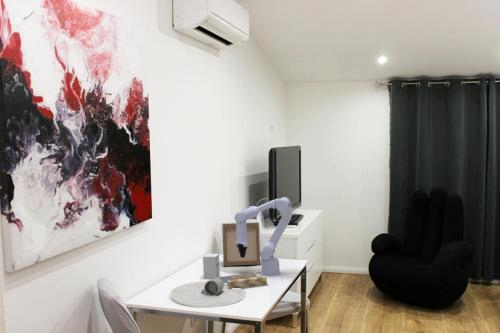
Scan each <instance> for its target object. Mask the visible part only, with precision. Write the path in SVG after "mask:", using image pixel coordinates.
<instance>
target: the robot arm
mask: <svg viewBox="0 0 500 333" xmlns="http://www.w3.org/2000/svg"><path fill="white" fill-rule="evenodd" d="M292 206H293V205H292V203H291V200H290V199H289V197H286V196H283V197H279V198H276V199H273V200H270V201H268V202H266V203H263V204H261V205H259V206H255V205H253V206H252V205H250V206H249V207H248V208H245V209H241V211H238V212H237V213H235V214H234V221H235V223H236V232H237V241H235V243H239V244H238V245H237V247H238V249H239V253H240V257H241V258H243V257H245V254H246V249H247V247H248V243H247V242H248V241H247V225H246V223H247V220H248V221H249V220H250V219H253V218H254V217H257V216H259V214H260V213H261V212H264V211H267V210H269V209H274V210H275V209H276V210H277V211H278V212H279V214H280V217H281V218H280V220H279V222H278V223H277V225H276V228H275V229H274V231H273V232H272V235H271V236H270V238H269V240H268V241H267V243H266V245H265V246H264V247H263V248H262V249H260V265H261V272H259V275H260V276H266V277H273V276H274V277H275V276H280V275H281V272H280V261H279V259H278V257H275V256H274V255H275V253H276V248H277V245H278V243H279V241H280V240H281V237H282V235H283V234H284V232H285V230H286V228H287V227H288V224H290V221H291V219H292V216H293V215H292V214H293V212H292Z"/></svg>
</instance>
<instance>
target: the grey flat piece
mask: <svg viewBox="0 0 500 333" xmlns="http://www.w3.org/2000/svg"><path fill="white" fill-rule="evenodd" d="M252 273H253V272H248V273H240V274H231V275H229V276H230V280H236V277H240V279H244V278H251V275H253V274H252ZM256 276H257V275H256ZM256 276H255V277H256Z"/></svg>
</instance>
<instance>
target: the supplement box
mask: <svg viewBox="0 0 500 333" xmlns="http://www.w3.org/2000/svg"><path fill="white" fill-rule="evenodd" d="M202 264H203V265H202V266H203V279H204V280H211V279H213V278H218V277H221V276H220V275H221V274H220V254H219V253H206V254H205V255H204V256H202Z"/></svg>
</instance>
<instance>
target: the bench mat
mask: <svg viewBox="0 0 500 333" xmlns="http://www.w3.org/2000/svg"><path fill="white" fill-rule="evenodd" d="M251 273H252V274H253V275H255V276H256V277H259V276H258V275H256V274H255V272H251ZM218 278H220V279H221V280H222V281H223V283H227V281H229V280H230V275H225V276H219V277H218ZM268 286H269V284H268V283H267V284H264V285H257V286H249V287H242V288H241V289H240V290H246V289H252V288H261V287H268Z"/></svg>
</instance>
